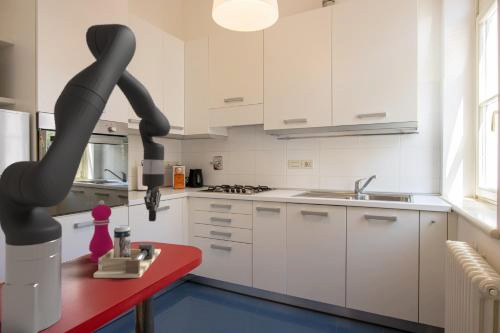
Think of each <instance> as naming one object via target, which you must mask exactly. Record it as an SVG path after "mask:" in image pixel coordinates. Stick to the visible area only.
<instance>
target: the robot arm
mask: <svg viewBox="0 0 500 333" xmlns="http://www.w3.org/2000/svg"><path fill="white" fill-rule="evenodd" d="M85 33H86V34H85V40H86V45H87V48H88V50H89V51H90V53H91V54H92V56H93V57H94V60H95V61H94V62H92V63H91V64H89V65H88V66H86V67H85V68H83V69H82V70H80V71H79V72H78V73H76V74H75V75H74V76H73V77H72V78H71V79H69V80H68V82H66V84H65V86H64V87H63V89H62V91H61V92H60V94H59V96H58V97H57V99H56V101H55V104H54V106H53V107H54V109H53V120H54V136H53V140H52V142H51V143H50V145H49V147H48V148H47V151H46V152H45V154H44V155H43V156H42V158H41V159H40V160H21V161H15V162H13V163H11V164H10V165H7V167H6V168H4V170H3V171H2V173H1V175H0V229H1V230H2V232H3V234H4V239H5V243H4V244H5V246H4V247H5V248H4V249H5V252H4V253H5V254H4V256H5V257H4V260H5V261H4V264H5V265H4V266H5V267H4V268H5V270H4V284H3V285H2V286H1V287H0V288H1V291H0V292H1V298H0V299H1V304H0V307H1V309H0V312H1V313H0V314H1V315H0V316H1V317H0V319H1V321H0V322H1V325H0V327H1V329H0V332H1V333H39V332H40V331H43V330H46V329H48V328H50V327H52V326H54V325H55V324H57V323H58V322H59V321H60V319H61V318H62V269H63V268H62V267H63V266H62V265H63V264H62V262H63V261H62V260H63V259H62V257H63V256H62V249H63V248H62V243H63V242H62V241H63V237H62V236H63V227H62V223H61V222H59V221H58V220H56V219H55V218H54V217H53V216H51V214H50V213H49V211H48V208H52V207H56V206H58V205H59V204H60V203H62V202H63V201H65V199H66V198H67V197H68V195H69V193H70V191H71V189H72V188H73V185H74V182H75V179H76V176H77V173H78V170H79V167H80V164H81V161H82V158H83V157H84V152H85V150H86V148H87V146H88V143H89V141H90V139H91V136H92V134H93V132H94V130H95V129H96V126H97V124H98V122H99V120H100V118H101V117H102V115H103V113H104V111H105V109H106V106H107V104H108V101H109V99H110V97H111V95H112V93H113V91H114V89H115V88H116V86H117V87H118V88H119V90H120V91H121V92H122V94H123V95H124V96H125V98H126V100H127V102H128V104H130V107H131V108H132V110H133V112H134V113H135V115H136V116H137V117H138V119H140V120H139V123H138V130H139V135H140V138H141V142H142V147H143V160H142V168H141V169H142V170H141V171H142V174H141V175H142V176H141V177H142V178H141V184H142V185H141V186H143V187H147V189H146V191H145V196H143V200H144V204H145V209H146V210H147V211H148V221H149V222H155V221H157V211H158V208H159V206H160V201H161V196H162V193H161V191H160V187H164V186H165V171H166V170H165V168H166V167H165V146H164V145H163V144H162V143H158V142H155V140H154V139H153V137H156V138H157V137H159V138H160V137H162V138H163V137H166V136H168V135H169V133H170V131H171V123H170V121H169V119H168V118H167V116H166V115H165V114H164V113H163V112H162V111H161V110H160V108H159V107H157V106H156V104H155V103H154V100H153V98H152V96H151V94H150V92H149V90H148V89H147V88H146V87H145V85H143V83H142V82H141V81H140V80H138V79H137V78H136V77H135V76H133V75H132V74H131V73H130V72H129V71H128V70H127V68H128V66H129V65H130V63H131V62H132V59H133V58H134V56H135V54H136V49H137V40H136V36H135V32H133V30H132V29H131V28H130V27H129V26H127V25H125V24H121V23H108V24H107V23H106V24H105V23H104V24H94V25H91V26H89V27H88V28H87V31H86V32H85Z"/></svg>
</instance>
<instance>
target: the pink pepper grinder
mask: <svg viewBox="0 0 500 333" xmlns="http://www.w3.org/2000/svg"><path fill="white" fill-rule="evenodd" d="M98 201H99V200H98ZM111 216H112V209H111V207H110V206H109V205H106V204H105V200H100V201H99V202H98V205H95V207H93V208H92V210H91V217H92V218H93V220H92V221H93V223H92V225H94V232H93V235H92V237H91V239H90V241H89V245H88V246H89V247H88V250H89V251H90V252H91V254H90V262H92V263H98V259H99V258H100V257H102V256H103V255H104V254H106V253H107V252H109V251H110V250H111V249H114V240H113V238H112V237H111V234H110V232H109V224H110V220H111V219H110V217H111Z"/></svg>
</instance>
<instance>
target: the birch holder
mask: <svg viewBox="0 0 500 333" xmlns="http://www.w3.org/2000/svg"><path fill="white" fill-rule="evenodd" d="M153 244H154V243H139V244H138V248H130V258H114V248H112V249H111V250H110V251H109V252H107V253H106V254H104V255H103V256H102V257H100V258H99V259H98V262H97V264H98V270H96V271H95V272H94V273H93V278H94V279H103V278H104V279H109V278H110V279H112V278H113V279H114V278H115V279H120V278H121V279H122V278H123V279H127V278H129V279H131V278H132V279H134V278H136V279H137V278H138V279H139V278H141V277H142V276H143V275H144V273H145V272H146V271H147V270H148V269H149V268H150V266H151V265H152V263H153V262H154V261H155V260H156V259H157V258H158V256H159V255H160V254H161V253H162V249H161V248H155V254H154V255H153ZM143 249H149V255H147V256H146V257H145V258H144V259H143V260H142V261H141V262H140V260H134V259H135V258H136V257H137V256H138V255H139V254H140V253H141V252H142V251H143ZM160 252H161V253H160Z"/></svg>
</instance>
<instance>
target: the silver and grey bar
mask: <svg viewBox="0 0 500 333" xmlns="http://www.w3.org/2000/svg"><path fill="white" fill-rule="evenodd" d="M152 244H153V255H154V254H155V249H156V248H155V247H156V246H155V244H154V243H152ZM147 255H149V249H143V251H142V252H141V253H140V254H139V255H138V256H137V257H136V258H135V259H134V260H140V262H141V261H142V260H143V259H144V258H145V257H146V256H147Z"/></svg>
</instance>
